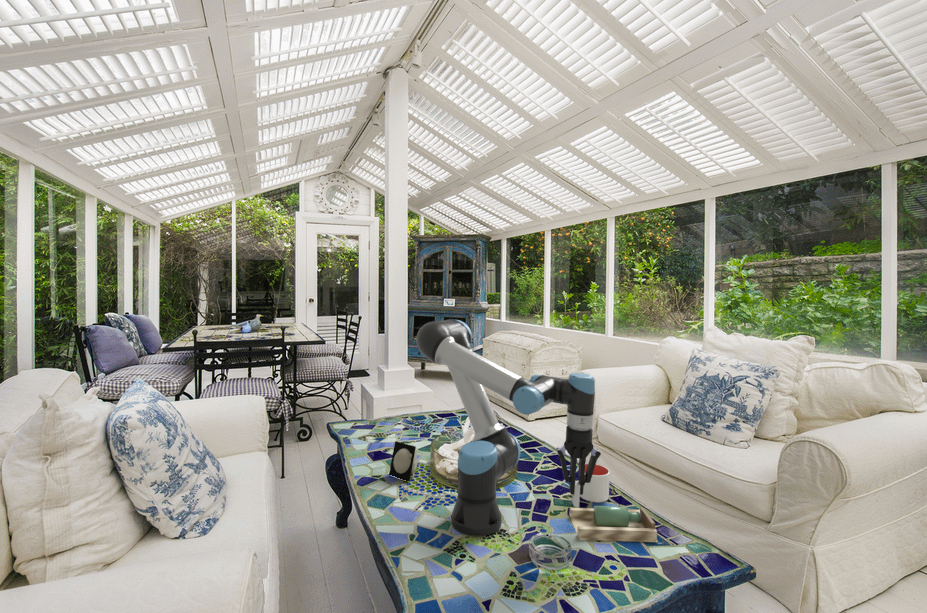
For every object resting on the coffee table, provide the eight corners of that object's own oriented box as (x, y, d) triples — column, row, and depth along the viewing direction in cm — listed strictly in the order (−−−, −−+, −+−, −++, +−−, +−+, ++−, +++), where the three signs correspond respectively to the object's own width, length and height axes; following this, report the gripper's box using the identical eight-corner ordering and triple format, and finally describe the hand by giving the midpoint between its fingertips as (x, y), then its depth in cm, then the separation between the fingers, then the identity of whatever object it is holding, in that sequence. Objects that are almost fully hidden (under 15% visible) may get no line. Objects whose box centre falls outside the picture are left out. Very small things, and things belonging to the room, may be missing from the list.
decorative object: (401, 474, 174) (421, 481, 168) (383, 476, 165) (404, 483, 160) (407, 440, 176) (427, 446, 171) (390, 441, 167) (411, 446, 162)
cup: (610, 507, 147) (611, 477, 146) (578, 503, 149) (579, 474, 148) (606, 493, 157) (607, 465, 156) (577, 489, 159) (578, 462, 158)
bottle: (597, 505, 133) (641, 507, 132) (592, 506, 138) (636, 507, 137) (598, 525, 131) (644, 527, 130) (594, 525, 135) (638, 527, 135)
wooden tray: (579, 543, 126) (579, 525, 126) (568, 517, 140) (569, 501, 140) (658, 545, 126) (658, 528, 125) (639, 519, 140) (640, 503, 139)
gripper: (559, 430, 128) (556, 510, 129) (605, 431, 128) (601, 511, 129) (554, 421, 135) (551, 497, 137) (598, 423, 135) (594, 499, 137)
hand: (575, 504), depth 133 cm, fingers closed
